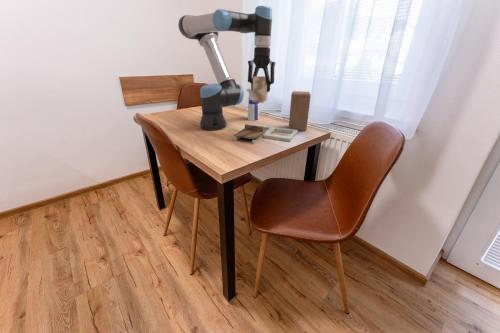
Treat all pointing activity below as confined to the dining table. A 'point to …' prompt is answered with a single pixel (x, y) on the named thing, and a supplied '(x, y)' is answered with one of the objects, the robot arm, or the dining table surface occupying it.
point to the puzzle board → (270, 131)
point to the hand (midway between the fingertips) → (260, 97)
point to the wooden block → (299, 110)
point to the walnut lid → (250, 132)
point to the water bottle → (252, 107)
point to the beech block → (259, 89)
